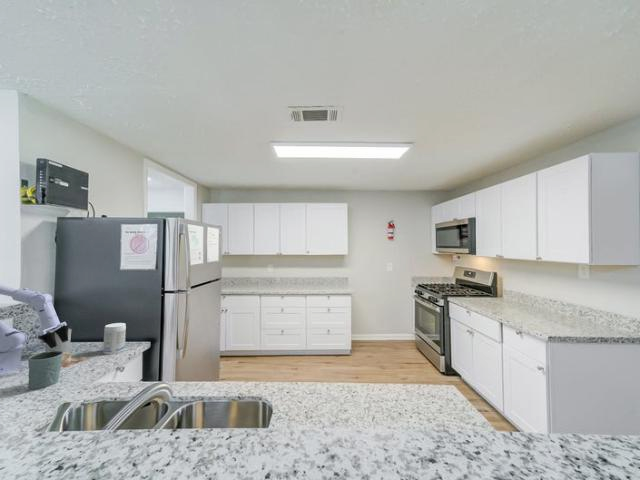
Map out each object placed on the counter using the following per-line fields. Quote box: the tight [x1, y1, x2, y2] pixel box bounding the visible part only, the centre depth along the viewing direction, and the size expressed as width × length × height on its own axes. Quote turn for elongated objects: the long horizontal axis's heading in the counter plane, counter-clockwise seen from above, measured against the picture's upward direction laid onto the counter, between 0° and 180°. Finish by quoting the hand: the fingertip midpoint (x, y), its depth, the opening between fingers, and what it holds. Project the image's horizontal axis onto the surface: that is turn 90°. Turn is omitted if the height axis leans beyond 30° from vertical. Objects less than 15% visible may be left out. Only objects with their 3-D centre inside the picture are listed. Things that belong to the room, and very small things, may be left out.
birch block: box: [61, 352, 72, 366], centre depth 131 cm, size 4×4×4 cm
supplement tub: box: [102, 322, 127, 355], centre depth 150 cm, size 10×10×15 cm
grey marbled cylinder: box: [44, 328, 73, 353], centre depth 144 cm, size 10×10×12 cm
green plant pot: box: [27, 351, 63, 391], centre depth 111 cm, size 10×10×12 cm
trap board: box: [61, 355, 90, 368], centre depth 134 cm, size 12×11×1 cm
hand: (59, 344), depth 130 cm, fingers open, 7 cm apart
